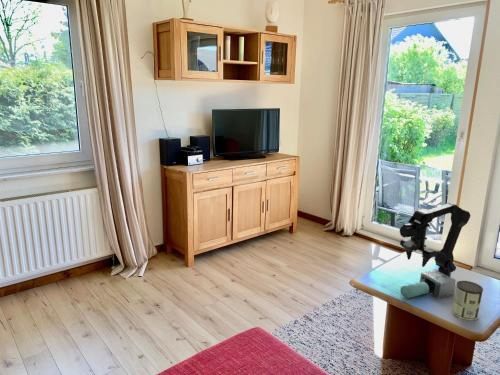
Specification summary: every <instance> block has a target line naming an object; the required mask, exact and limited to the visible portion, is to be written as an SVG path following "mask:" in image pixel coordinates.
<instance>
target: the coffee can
mask: <svg viewBox="0 0 500 375" xmlns="http://www.w3.org/2000/svg"><path fill="white" fill-rule="evenodd" d="M455 286H456V288H455V293H454V298H453V305H452V309H451V310H452V313H453V314H454V315H455V316H456V317H458V318H460V319H462V320H467V321H476V320H478V317H479V316H478V315H479V312H480V305H481V301H482V296H483V291H484V288H483V286H481V285H480V284H478V283H476V282H473V281H469V280H458V281H456V285H455Z"/></svg>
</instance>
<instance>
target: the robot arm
mask: <svg viewBox="0 0 500 375" xmlns="http://www.w3.org/2000/svg"><path fill="white" fill-rule="evenodd" d="M448 214H450V222H451V225H450V228H449V230H448V233H447V236H446V238H445V242H444V244H443V247H442V248H441V249H439V250H437V251H436V250H435V249H432V248H426V247H427V245H426V244H425V243H426V241H427V240H428V237H427V228H431V224H430V223H431V222H433V220H434V219H436V218H438V217H441V216H445V215H448ZM470 219H471V214H470V212H469V211H467V210H465V209H463V208H461V207H460V206H458V205H457V204H455V203H452V202H446V203H445V204H442V205H439V206H436V207H433V208H430V209H416V210H415V211H414V213H413V214H412V216H411V217H410V219H408V221H407V223H403V224H402V225H401V227H400V229H399V234H400V236H401V238H402V239H400V242H399V245H400V246H401V247H402V248H403V249H404V250H405V251H404V252H405V253H406V258H407V260H408V261H409V260H411V257H412V255H413V252H416V251H420V252H421V254H422V255H421V257H422V263H421V267H422V268H424V267H425V266H426V265H427V263H428V262H429V261H430V260H431V259H432V258H434V261H435V266H438V270H437V271H439V272H441V273H443V274H445V275H447V276H449V277H451V276H452V273H453V272H455V271H456V269H457V266H456V265H455V263H454V258H455V257H454V253H453V252H454V250H455V247H456V244H457V241H458V239H459V237H460V233H461V231H462V228H463V227H465V226H466V225H467V224H468V222H469V220H470ZM403 238H404V239H403Z"/></svg>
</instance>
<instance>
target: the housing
mask: <svg viewBox="0 0 500 375" xmlns="http://www.w3.org/2000/svg"><path fill="white" fill-rule="evenodd" d="M421 282H425V283H427V284H428V286H429V292H428V293H430V295H432V296H434V297H436V298H437V299H441V298H445V297H450V296H452V295H454V291H455V286H456V285H455V284H456V282H457V281H456V279H454V278H452V277H451V276H450V277H449V276H447V275H445V274H443V273H441V272H439V271H438V270H437V269H431V270H426V271H422V272H421V273H420V279H419V283H421Z"/></svg>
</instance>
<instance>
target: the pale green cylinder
mask: <svg viewBox="0 0 500 375" xmlns="http://www.w3.org/2000/svg"><path fill="white" fill-rule="evenodd" d="M428 293H429V286H428V284H427V283H425V282H421V283H420V282H418V283H413V284H409V285H402V286H401V287H400V295H401V296H402V297H403V298H405V299H410V298H414V297H417V296H422V295H426V294H428Z"/></svg>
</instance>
